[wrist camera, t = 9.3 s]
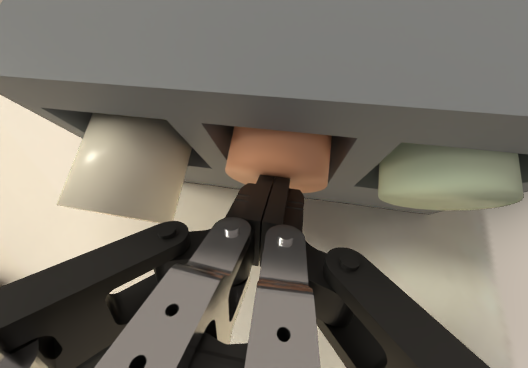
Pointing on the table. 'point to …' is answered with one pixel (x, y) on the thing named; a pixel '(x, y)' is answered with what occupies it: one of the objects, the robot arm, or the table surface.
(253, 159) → the terracotta button
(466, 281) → the table surface
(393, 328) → the robot arm
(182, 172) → the cream button
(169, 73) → the button panel
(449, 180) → the sage button
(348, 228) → the table surface
